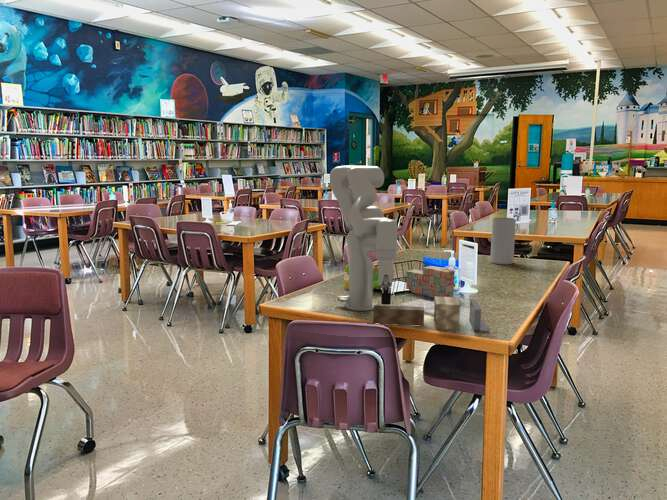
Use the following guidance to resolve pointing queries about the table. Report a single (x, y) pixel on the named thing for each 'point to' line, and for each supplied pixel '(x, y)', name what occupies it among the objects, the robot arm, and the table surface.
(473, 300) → the grey piece
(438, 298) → the maple block
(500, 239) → the cylinder vase
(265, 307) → the table surface
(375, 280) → the turtle toy
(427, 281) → the stack of blocks
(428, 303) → the calculator
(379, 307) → the walnut bar
